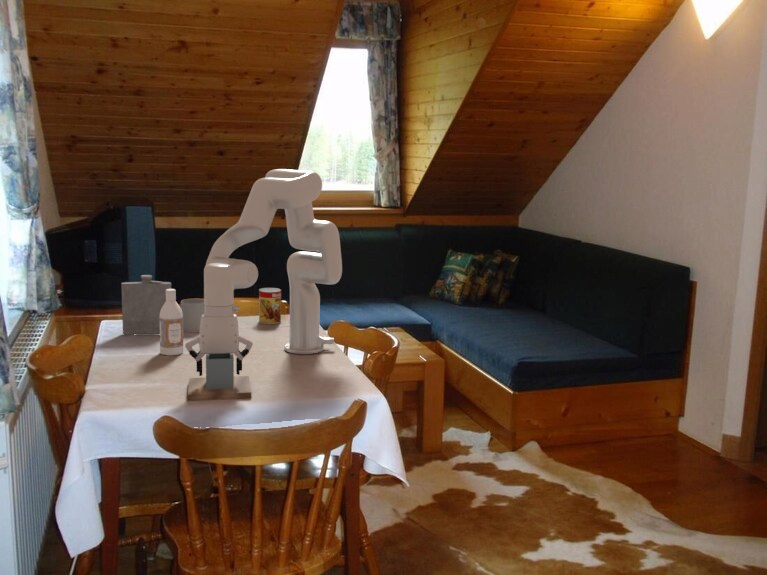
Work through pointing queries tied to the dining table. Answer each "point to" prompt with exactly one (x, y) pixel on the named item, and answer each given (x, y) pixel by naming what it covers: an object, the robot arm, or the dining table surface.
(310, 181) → the robot arm
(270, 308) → the canned food
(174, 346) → the bath foam
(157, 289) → the hip flask
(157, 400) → the dining table surface
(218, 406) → the dining table surface
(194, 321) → the cup
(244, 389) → the base
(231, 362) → the duct sleeve
